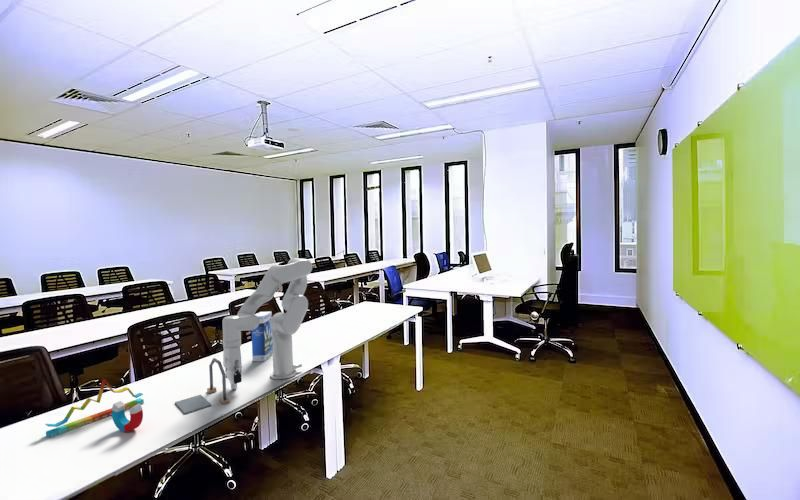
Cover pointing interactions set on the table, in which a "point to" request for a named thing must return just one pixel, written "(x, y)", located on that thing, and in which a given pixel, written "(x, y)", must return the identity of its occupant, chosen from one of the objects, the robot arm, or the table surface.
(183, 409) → the mat
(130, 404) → the chart
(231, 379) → the lightbulb
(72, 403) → the table surface
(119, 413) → the magnet
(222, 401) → the wire arch
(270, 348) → the string lights box
